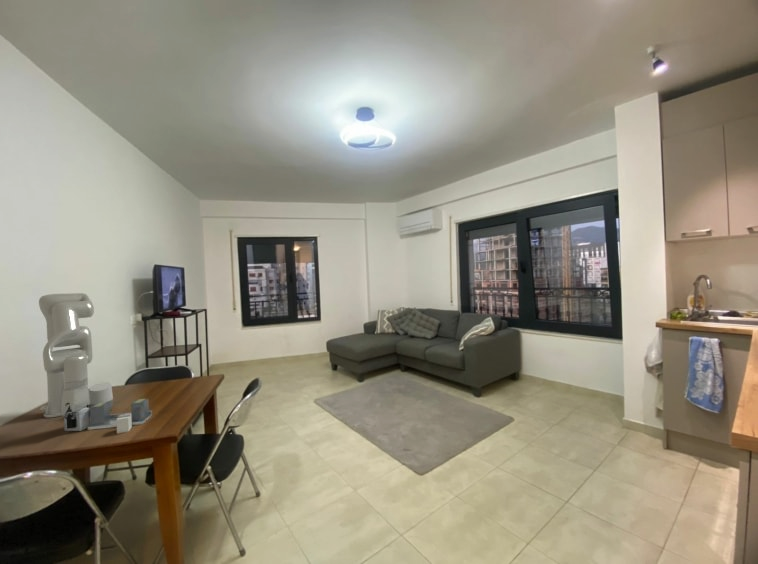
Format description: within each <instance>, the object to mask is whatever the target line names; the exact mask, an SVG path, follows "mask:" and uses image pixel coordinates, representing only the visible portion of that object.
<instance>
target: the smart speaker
mask: <svg viewBox="0 0 758 564" xmlns="http://www.w3.org/2000/svg"><path fill="white" fill-rule="evenodd" d="M88 389H89V400H90V404H89V406H88V408H89V412H90V407H92V406H93V405H95V404H99V403H104V402H106V403H109V404H110V411H111V410H112V409H113V407H114V395H113V388H112V383H111V382H107V381H105V382H104V381H103V382H99V383H94V385H91V386H90V387H88Z"/></svg>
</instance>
